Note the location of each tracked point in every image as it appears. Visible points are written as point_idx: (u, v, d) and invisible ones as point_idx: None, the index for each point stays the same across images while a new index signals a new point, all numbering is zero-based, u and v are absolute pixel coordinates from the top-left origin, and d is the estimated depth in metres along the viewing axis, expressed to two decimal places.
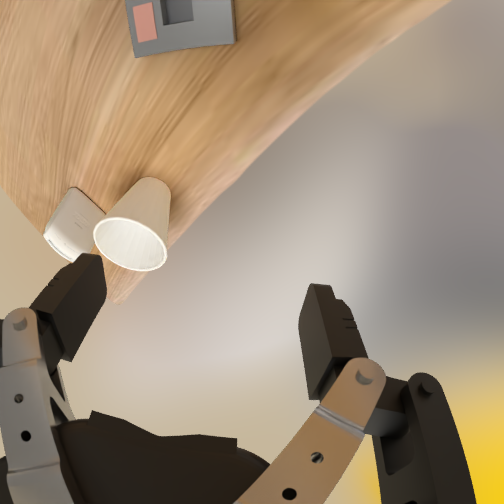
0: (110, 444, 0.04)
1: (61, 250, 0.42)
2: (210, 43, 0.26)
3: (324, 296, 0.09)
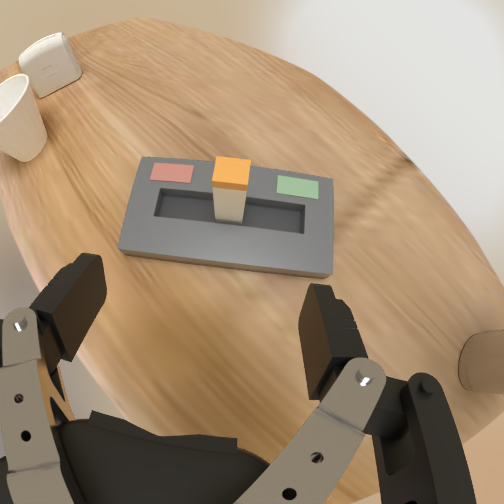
0: (110, 444, 0.04)
1: (39, 43, 0.28)
2: (124, 226, 0.31)
3: (324, 296, 0.09)
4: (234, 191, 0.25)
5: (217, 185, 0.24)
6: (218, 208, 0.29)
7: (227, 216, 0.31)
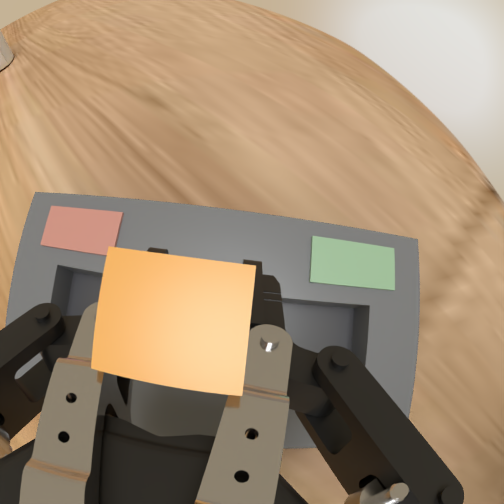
0: (110, 444, 0.04)
1: None
2: None
3: None
4: None
5: None
6: None
7: None
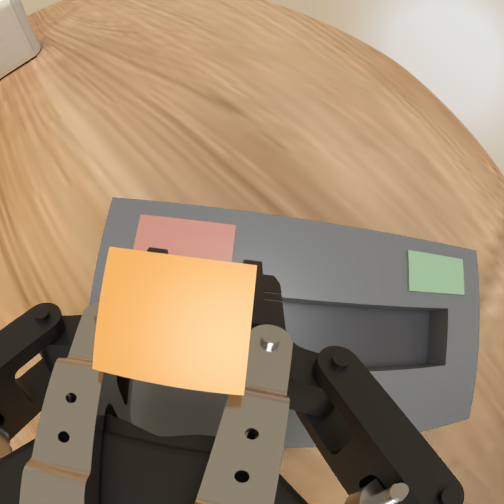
0: (110, 444, 0.04)
1: None
2: None
3: None
4: None
5: None
6: None
7: None
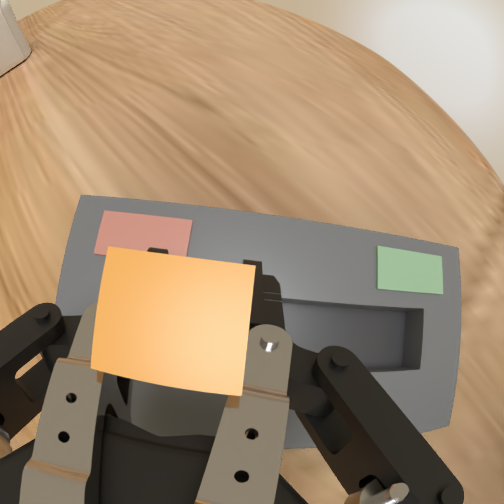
0: (110, 444, 0.04)
1: None
2: None
3: None
4: None
5: None
6: None
7: None
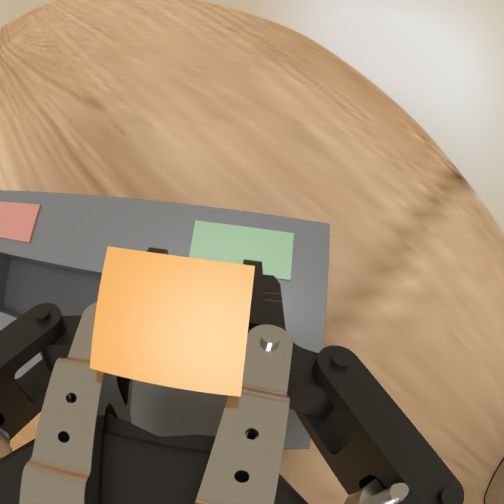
0: (110, 444, 0.04)
1: None
2: None
3: None
4: None
5: None
6: None
7: None
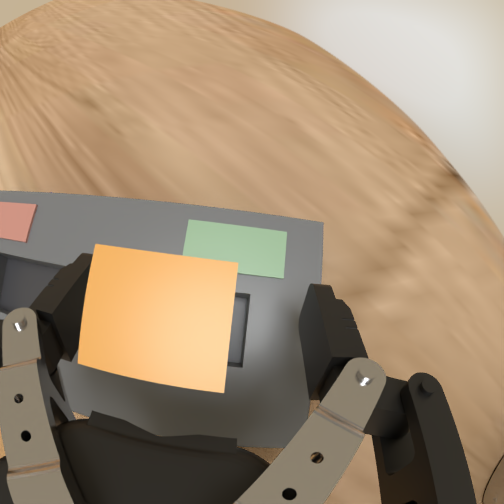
0: (110, 444, 0.04)
1: None
2: None
3: (324, 296, 0.09)
4: None
5: None
6: None
7: None
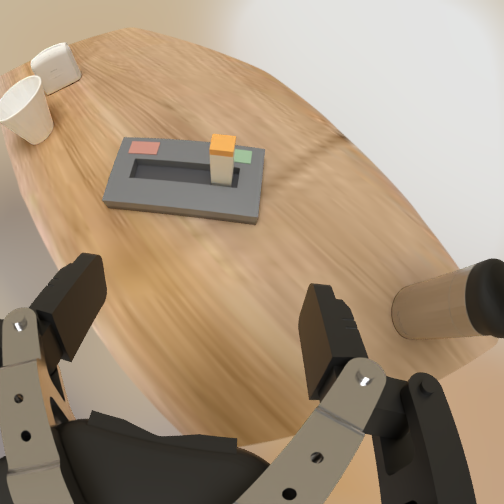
0: (110, 444, 0.04)
1: (47, 50, 0.38)
2: (108, 185, 0.41)
3: (324, 296, 0.09)
4: (224, 158, 0.36)
5: (213, 152, 0.35)
6: (213, 172, 0.39)
7: (220, 179, 0.41)
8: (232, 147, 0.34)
